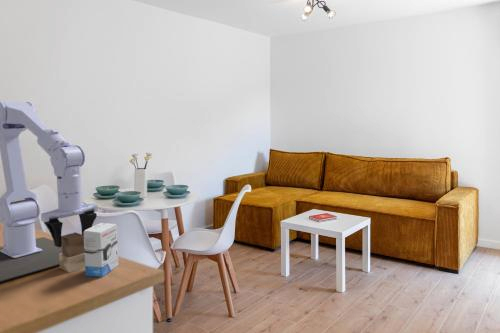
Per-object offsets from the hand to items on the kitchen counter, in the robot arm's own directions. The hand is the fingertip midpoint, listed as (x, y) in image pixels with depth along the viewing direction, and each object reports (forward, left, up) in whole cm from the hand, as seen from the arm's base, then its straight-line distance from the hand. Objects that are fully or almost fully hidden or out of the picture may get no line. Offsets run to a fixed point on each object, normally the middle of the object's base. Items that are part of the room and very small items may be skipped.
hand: (72, 242), depth 106 cm
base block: (0, 0, -7) cm, 7 cm away
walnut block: (0, 0, -3) cm, 3 cm away
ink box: (+8, +4, -7) cm, 11 cm away
